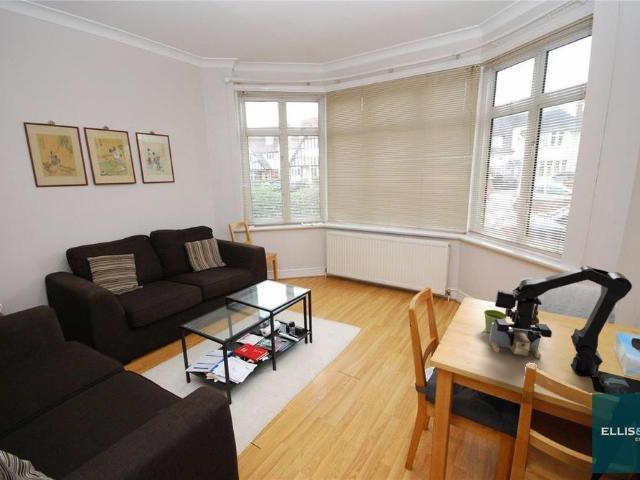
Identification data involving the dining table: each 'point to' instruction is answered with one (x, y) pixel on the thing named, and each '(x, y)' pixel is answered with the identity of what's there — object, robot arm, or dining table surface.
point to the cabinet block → (520, 344)
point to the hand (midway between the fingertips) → (518, 346)
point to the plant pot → (492, 317)
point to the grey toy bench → (503, 340)
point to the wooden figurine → (535, 316)
